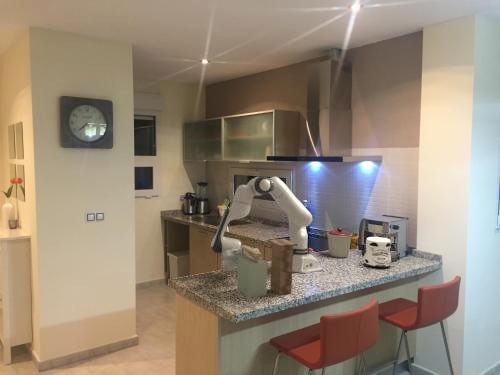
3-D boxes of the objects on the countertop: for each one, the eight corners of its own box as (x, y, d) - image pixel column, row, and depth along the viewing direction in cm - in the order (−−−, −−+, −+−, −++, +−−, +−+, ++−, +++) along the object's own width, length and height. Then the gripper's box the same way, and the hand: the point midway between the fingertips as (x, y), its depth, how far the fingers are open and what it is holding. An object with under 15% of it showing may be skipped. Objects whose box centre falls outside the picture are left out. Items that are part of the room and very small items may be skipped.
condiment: (356, 250, 326) (357, 234, 325) (345, 248, 330) (346, 233, 329) (359, 248, 332) (359, 233, 331) (348, 247, 336) (349, 232, 336)
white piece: (379, 270, 267) (381, 242, 266) (358, 264, 281) (359, 238, 280) (396, 267, 277) (397, 240, 276) (374, 261, 291) (375, 235, 290)
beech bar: (245, 251, 227) (245, 245, 227) (261, 260, 209) (261, 253, 209) (240, 252, 226) (240, 245, 226) (256, 260, 208) (256, 253, 208)
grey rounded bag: (380, 255, 312) (372, 260, 295) (381, 244, 311) (373, 248, 294) (401, 258, 304) (394, 263, 287) (402, 246, 303) (395, 251, 286)
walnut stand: (282, 286, 228) (283, 238, 226) (295, 294, 216) (297, 244, 214) (265, 288, 224) (267, 239, 222) (278, 296, 211) (280, 245, 210)
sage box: (254, 287, 225) (255, 255, 224) (266, 295, 213) (267, 262, 211) (237, 289, 221) (238, 257, 220) (248, 297, 208) (249, 263, 207)
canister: (347, 260, 291) (348, 230, 290) (322, 256, 300) (323, 227, 299) (354, 255, 307) (355, 227, 305) (330, 252, 316) (331, 224, 314)
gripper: (218, 253, 231) (226, 244, 219) (252, 250, 239) (261, 242, 228) (220, 264, 228) (228, 256, 217) (254, 261, 237) (264, 253, 226)
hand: (246, 249), depth 223 cm, fingers closed on beech bar, 3 cm apart
